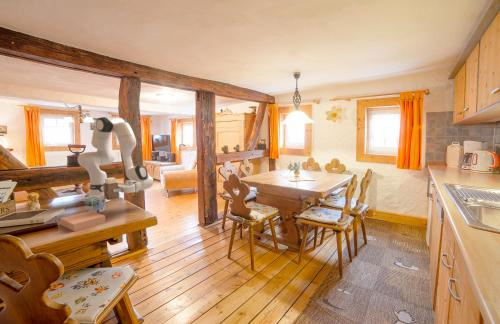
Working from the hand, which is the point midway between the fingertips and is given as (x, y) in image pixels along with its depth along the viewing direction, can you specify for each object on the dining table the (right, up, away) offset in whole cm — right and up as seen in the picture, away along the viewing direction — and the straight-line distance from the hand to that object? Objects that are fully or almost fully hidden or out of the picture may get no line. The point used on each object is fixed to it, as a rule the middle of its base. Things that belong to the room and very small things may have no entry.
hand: (109, 190), depth 152 cm
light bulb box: (-14, -16, +9) cm, 23 cm away
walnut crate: (0, -5, +1) cm, 6 cm away
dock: (-9, -18, -12) cm, 23 cm away
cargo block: (0, +4, 0) cm, 5 cm away
